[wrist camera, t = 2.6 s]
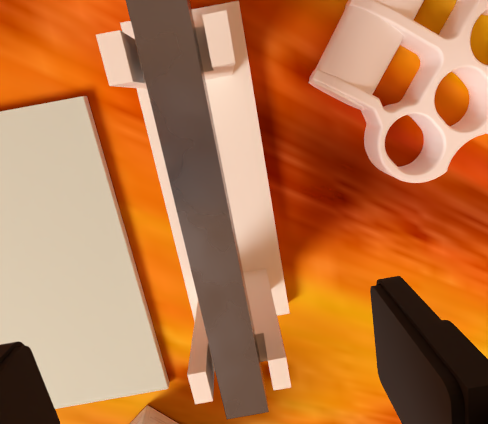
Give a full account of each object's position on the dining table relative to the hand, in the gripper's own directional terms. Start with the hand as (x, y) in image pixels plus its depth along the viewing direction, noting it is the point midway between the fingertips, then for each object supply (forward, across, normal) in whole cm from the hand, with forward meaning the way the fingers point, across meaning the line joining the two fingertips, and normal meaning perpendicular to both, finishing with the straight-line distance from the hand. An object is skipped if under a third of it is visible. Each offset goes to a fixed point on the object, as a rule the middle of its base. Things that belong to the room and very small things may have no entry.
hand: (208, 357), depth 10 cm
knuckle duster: (+22, -17, -7) cm, 28 cm away
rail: (+11, 0, 0) cm, 11 cm away
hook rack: (+21, +1, 0) cm, 21 cm away
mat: (+21, +16, +4) cm, 26 cm away
